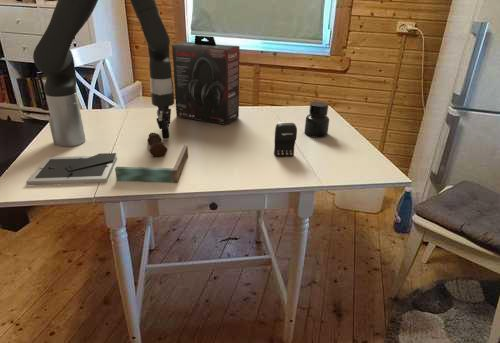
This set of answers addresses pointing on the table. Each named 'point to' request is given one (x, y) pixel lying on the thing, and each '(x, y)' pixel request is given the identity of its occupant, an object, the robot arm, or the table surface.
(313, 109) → the ink bottle
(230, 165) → the table surface
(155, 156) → the bolt
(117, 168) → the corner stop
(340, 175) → the table surface
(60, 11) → the robot arm
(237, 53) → the headset box
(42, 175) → the picture frame
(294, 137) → the battery charger
